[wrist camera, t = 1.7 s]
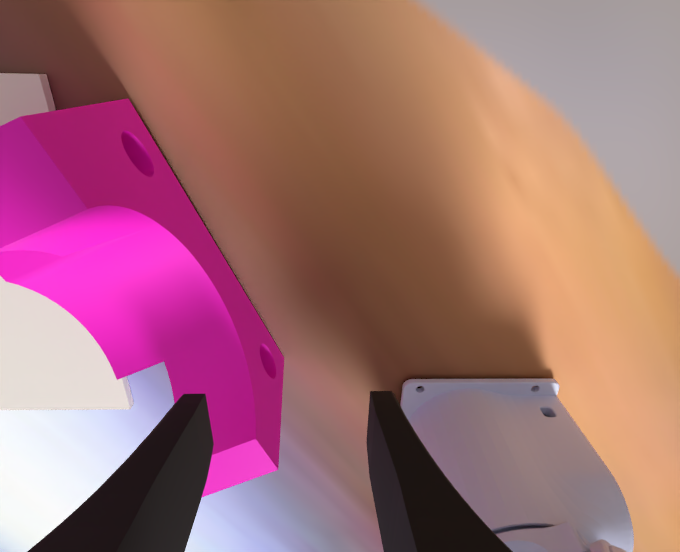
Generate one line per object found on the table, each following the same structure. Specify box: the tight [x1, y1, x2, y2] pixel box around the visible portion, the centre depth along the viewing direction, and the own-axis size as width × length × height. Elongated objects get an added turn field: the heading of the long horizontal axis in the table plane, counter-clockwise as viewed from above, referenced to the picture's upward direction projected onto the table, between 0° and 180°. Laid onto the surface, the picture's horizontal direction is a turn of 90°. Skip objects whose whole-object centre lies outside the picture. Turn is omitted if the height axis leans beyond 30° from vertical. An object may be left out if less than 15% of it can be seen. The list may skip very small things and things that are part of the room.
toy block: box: [0, 99, 284, 497], centre depth 18 cm, size 15×6×8 cm, turn 22°
